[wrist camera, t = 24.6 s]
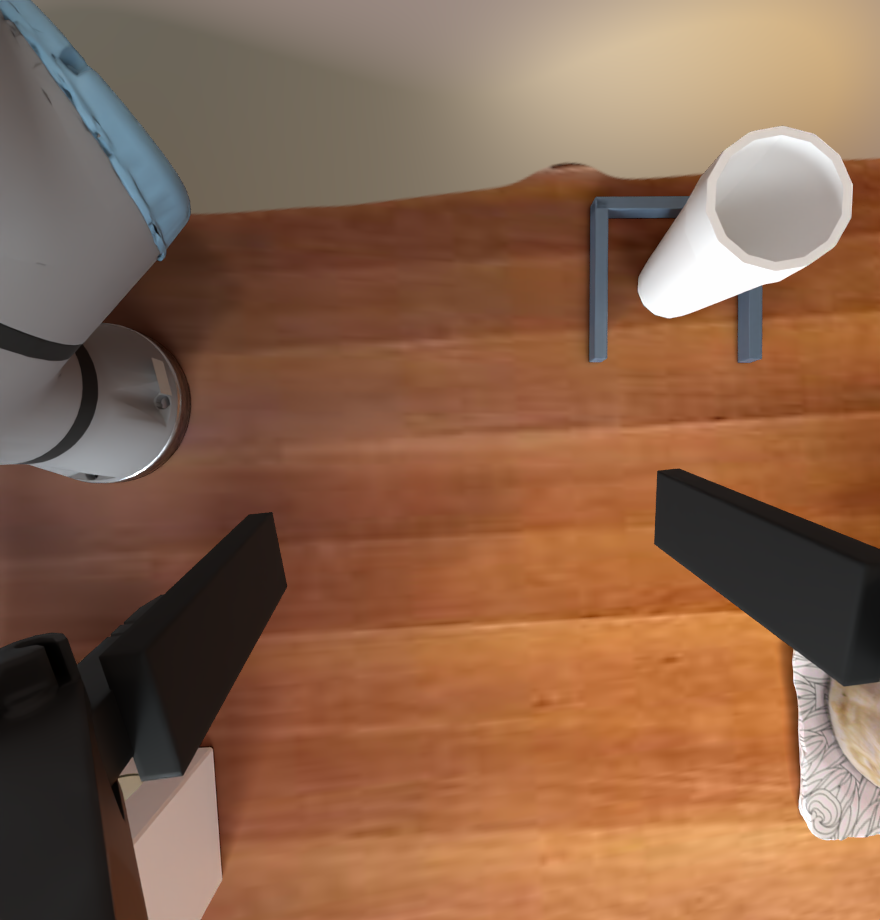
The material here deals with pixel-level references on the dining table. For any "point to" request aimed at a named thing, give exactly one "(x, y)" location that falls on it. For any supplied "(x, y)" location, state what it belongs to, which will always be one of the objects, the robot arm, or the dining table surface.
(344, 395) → the dining table surface
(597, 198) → the bay
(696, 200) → the foam cup
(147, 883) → the gable box
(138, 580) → the dining table surface
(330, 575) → the dining table surface
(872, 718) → the cookie jar
